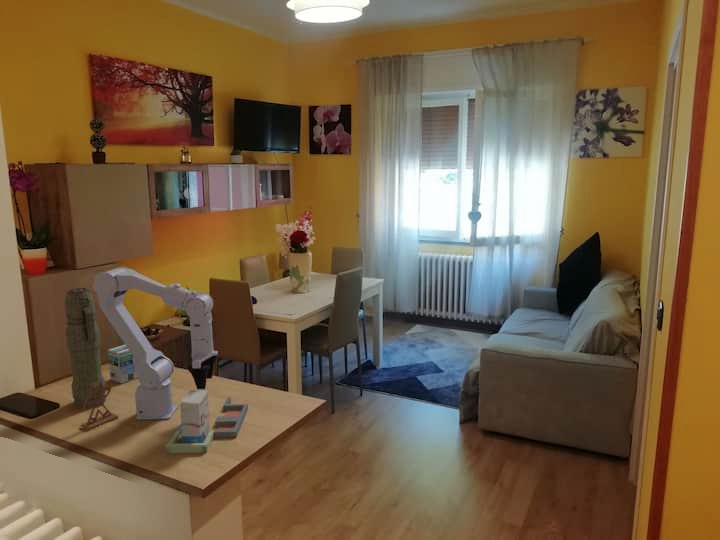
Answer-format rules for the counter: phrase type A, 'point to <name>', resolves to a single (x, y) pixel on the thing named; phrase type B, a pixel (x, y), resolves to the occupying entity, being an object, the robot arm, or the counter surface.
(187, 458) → the counter surface
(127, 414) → the counter surface
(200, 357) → the robot arm
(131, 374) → the light bulb box
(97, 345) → the grey stone statue
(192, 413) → the ink box
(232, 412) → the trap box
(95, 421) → the wooden stand
